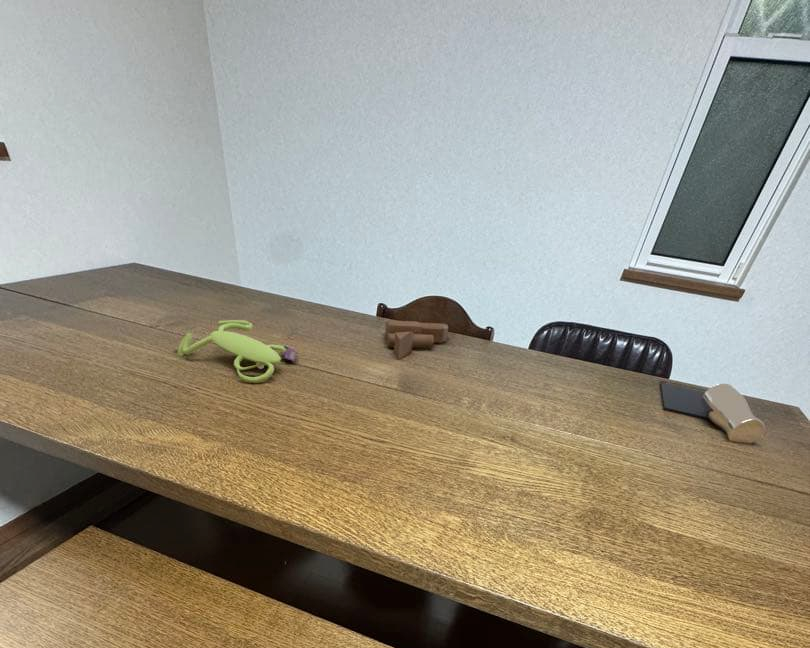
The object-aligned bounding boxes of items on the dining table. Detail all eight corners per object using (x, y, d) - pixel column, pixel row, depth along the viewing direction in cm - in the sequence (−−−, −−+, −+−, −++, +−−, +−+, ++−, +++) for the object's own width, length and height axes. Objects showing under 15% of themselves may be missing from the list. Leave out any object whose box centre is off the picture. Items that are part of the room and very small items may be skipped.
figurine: (235, 336, 113) (232, 312, 109) (316, 366, 103) (315, 340, 99) (169, 352, 100) (163, 326, 97) (253, 387, 90) (250, 359, 87)
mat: (727, 399, 113) (728, 397, 112) (739, 427, 100) (740, 425, 99) (660, 384, 116) (661, 382, 116) (663, 409, 103) (664, 407, 103)
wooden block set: (382, 315, 120) (447, 318, 124) (381, 338, 124) (443, 340, 128) (395, 335, 107) (466, 338, 112) (393, 359, 111) (462, 361, 115)
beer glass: (727, 452, 93) (700, 416, 104) (767, 440, 91) (735, 404, 101) (726, 425, 89) (698, 390, 100) (768, 412, 86) (735, 377, 97)
